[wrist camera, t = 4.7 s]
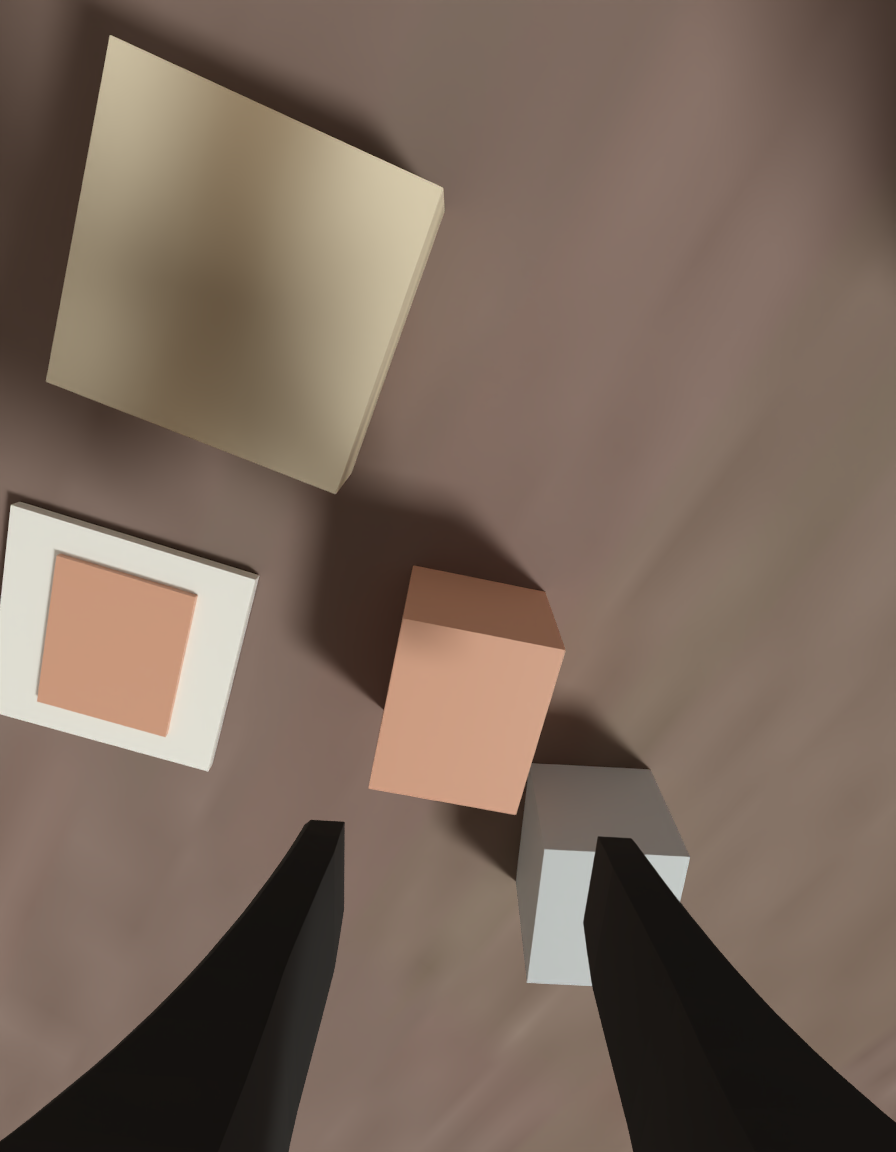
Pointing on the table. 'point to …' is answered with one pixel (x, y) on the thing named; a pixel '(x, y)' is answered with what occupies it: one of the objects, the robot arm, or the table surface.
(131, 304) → the maple block
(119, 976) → the table surface
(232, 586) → the tile
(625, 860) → the robot arm
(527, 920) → the grey block
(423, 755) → the terracotta block
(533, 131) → the table surface
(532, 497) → the table surface
